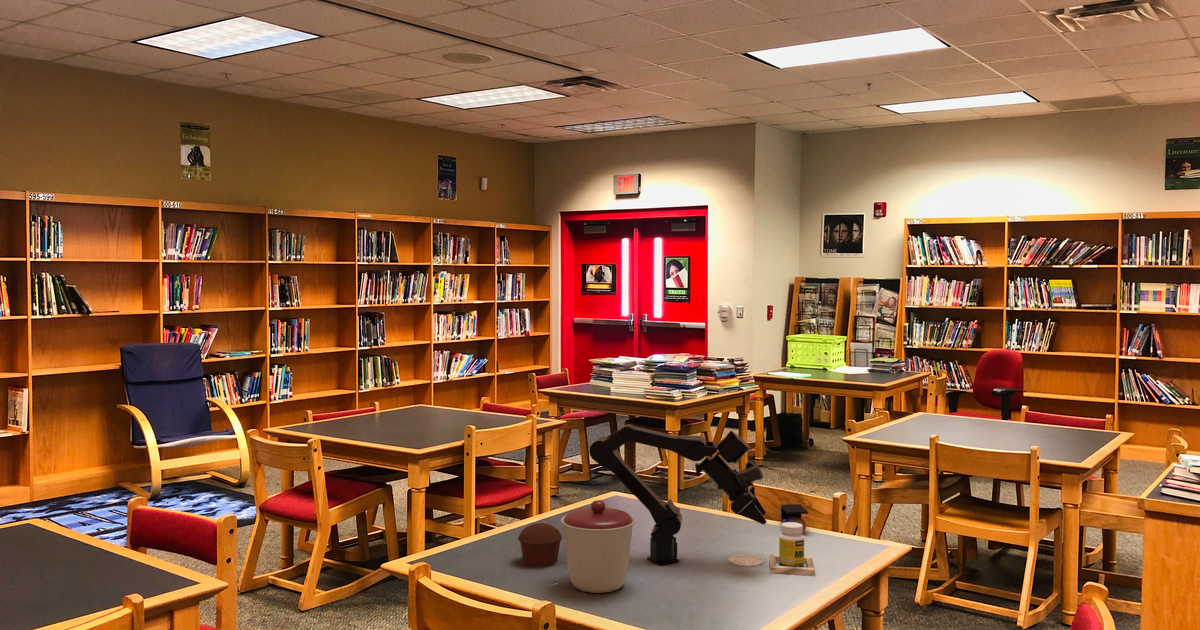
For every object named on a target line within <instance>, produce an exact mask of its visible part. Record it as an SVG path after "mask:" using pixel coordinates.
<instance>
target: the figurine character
mask: <svg viewBox="0 0 1200 630" xmlns="http://www.w3.org/2000/svg"><path fill="white" fill-rule="evenodd" d="M778 508H779V511H778V512H779V517H780V518H781V520H780V521H781V524H782V523H786V522H795V523H800V524H802V525H803V533H804V532H805V531H806V528H807V524H806V522H805V520H804V519H803V518H802V515H808V514H809V511H808V510H807V509H806V508H805V506H803V505H802V504H800V503H795V504H793V503H792V504H791V503H789V504H780V506H779V507H778Z"/></svg>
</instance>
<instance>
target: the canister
mask: <svg viewBox="0 0 1200 630" xmlns="http://www.w3.org/2000/svg"><path fill="white" fill-rule="evenodd" d="M560 523H561V524H562V525H563V532H564V533H563V534H564V542H565V551H566V560H567V561H566V563H567V567H568V576H569V579H570V582H571V584H572V585H573V586H574V588H576V589H577V590H579V591H582V592H585V593H595V594H603V593H610V592H615V591H617V590H619V589H620V588H621V587H622V586H623V585H624V583H625V582H626V579H627V574H628V568H629V562H630V554H631V553H630V552H631V544H632V543H631V542H632V535H633V526H634V525H635V523H636V518H635V517H634V516H633V515H631V514H629V513H628V512H626V511H625V510H621V509H618V508H612V507H606V503H605V502H604V501H603V500H601V499H600V500H599V499H597V500H593V501H591V503H590V507H583V508H579V509H574V510H571V511H570V512H568V513H567V514H564V516H562V517H561V519H560Z"/></svg>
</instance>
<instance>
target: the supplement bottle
mask: <svg viewBox="0 0 1200 630" xmlns="http://www.w3.org/2000/svg"><path fill="white" fill-rule="evenodd" d="M803 533H804V532H803V525H802V524H800V523H795V522H786V523H782V522H781V533H780V534H779V537H778V538H779V539H778V540H779V546H778V547H779V550H778V551H779V552H778V555H779V562H778V566H788V567H805V564H804V556H805V536H804V534H803Z"/></svg>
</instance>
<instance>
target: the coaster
mask: <svg viewBox="0 0 1200 630" xmlns="http://www.w3.org/2000/svg"><path fill="white" fill-rule="evenodd" d="M728 562H729V563H730V564H732V565H735V566H739V567H746V568H747V567H750V568H752V567H758V566H762V564H763V563H764V558H763V557H762V556H761V557H760V556H759V555H757V554H756V555H755V554H750V553H749V554H748V553H738V554H737V553H736V554H733V555H730V556H729V557H728Z"/></svg>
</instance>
